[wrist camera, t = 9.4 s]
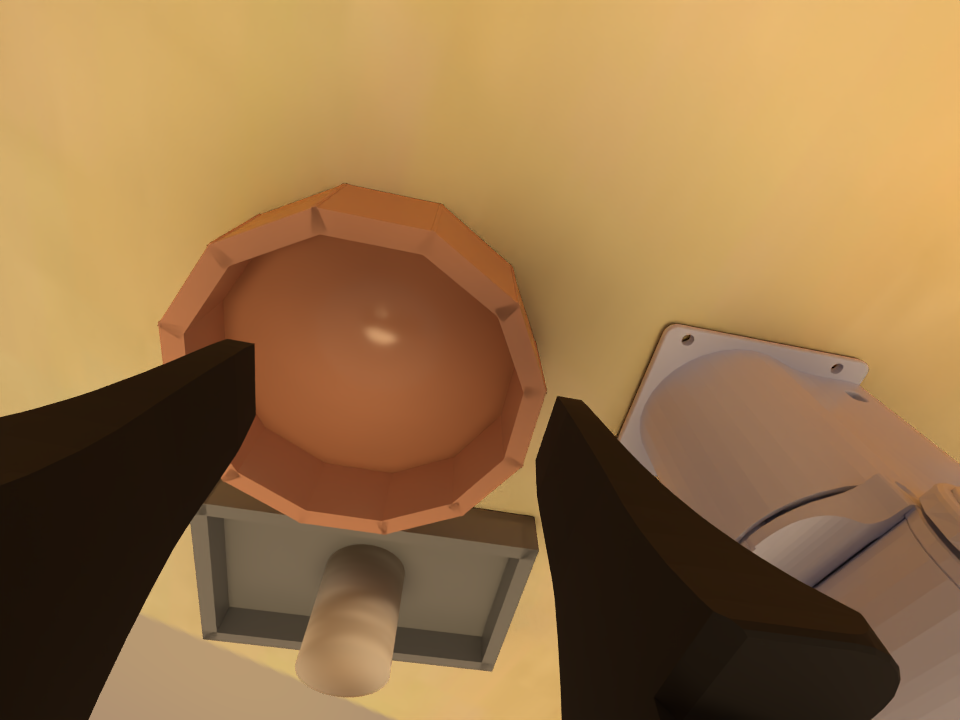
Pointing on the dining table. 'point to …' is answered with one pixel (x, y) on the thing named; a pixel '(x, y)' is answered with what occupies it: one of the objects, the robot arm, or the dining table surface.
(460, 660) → the charcoal tray
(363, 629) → the taupe rounded cylinder
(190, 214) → the dining table surface
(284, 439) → the orange shallow faceted dish
